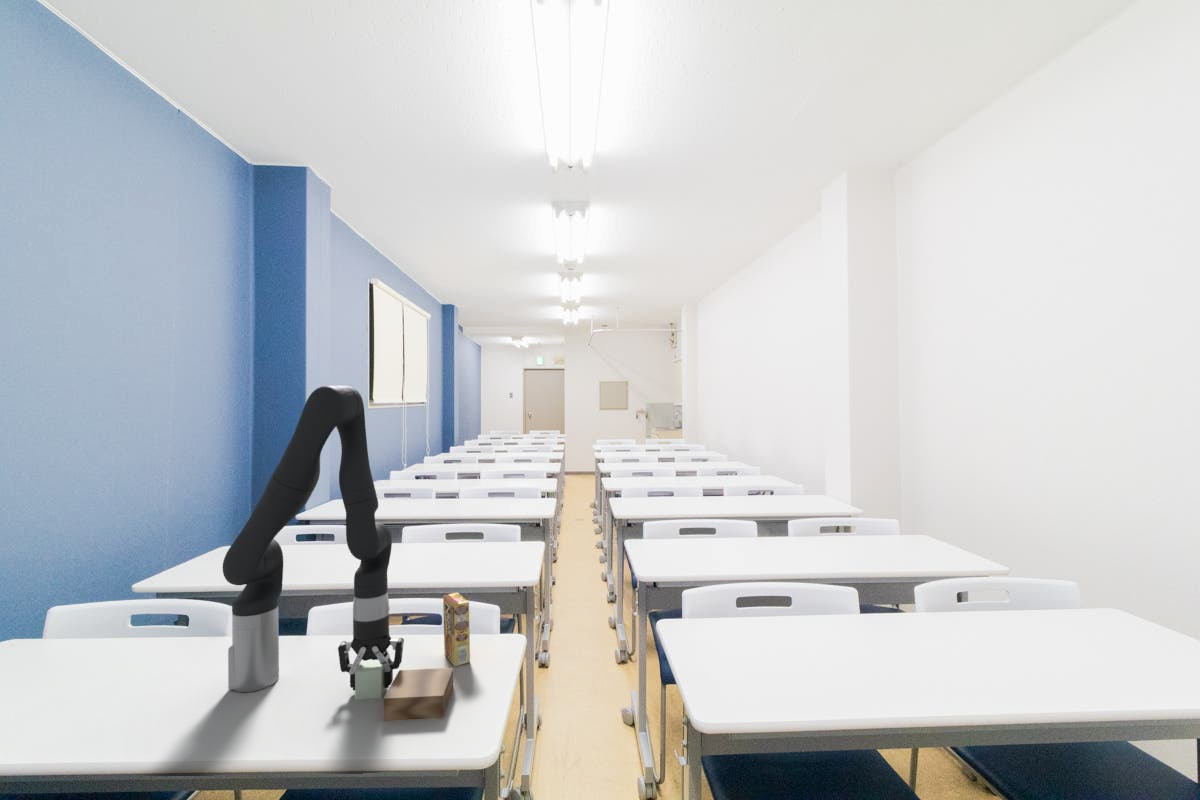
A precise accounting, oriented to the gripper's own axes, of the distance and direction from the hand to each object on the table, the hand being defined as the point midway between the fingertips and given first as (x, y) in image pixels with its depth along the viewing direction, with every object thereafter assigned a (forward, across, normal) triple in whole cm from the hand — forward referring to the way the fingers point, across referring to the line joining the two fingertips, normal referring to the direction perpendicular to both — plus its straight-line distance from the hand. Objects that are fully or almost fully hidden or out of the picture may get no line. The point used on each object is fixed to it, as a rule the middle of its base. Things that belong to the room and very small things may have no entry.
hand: (371, 687), depth 126 cm
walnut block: (+1, +12, -7) cm, 14 cm away
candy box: (+1, +17, +14) cm, 22 cm away
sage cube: (+1, 0, 0) cm, 1 cm away
